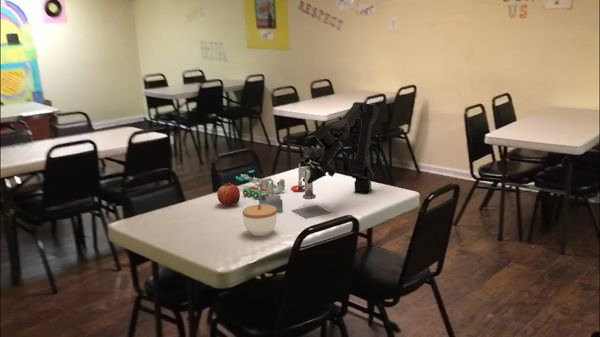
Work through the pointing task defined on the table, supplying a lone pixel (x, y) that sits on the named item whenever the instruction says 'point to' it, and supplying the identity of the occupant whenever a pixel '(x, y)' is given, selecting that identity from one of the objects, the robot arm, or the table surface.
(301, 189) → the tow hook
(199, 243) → the table surface
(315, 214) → the mat
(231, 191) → the fruit
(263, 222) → the lidded bowl
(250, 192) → the robot kit
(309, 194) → the flanged metal post
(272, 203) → the vise
